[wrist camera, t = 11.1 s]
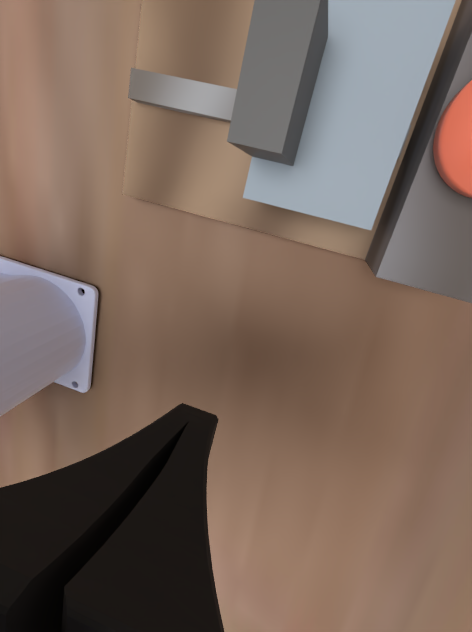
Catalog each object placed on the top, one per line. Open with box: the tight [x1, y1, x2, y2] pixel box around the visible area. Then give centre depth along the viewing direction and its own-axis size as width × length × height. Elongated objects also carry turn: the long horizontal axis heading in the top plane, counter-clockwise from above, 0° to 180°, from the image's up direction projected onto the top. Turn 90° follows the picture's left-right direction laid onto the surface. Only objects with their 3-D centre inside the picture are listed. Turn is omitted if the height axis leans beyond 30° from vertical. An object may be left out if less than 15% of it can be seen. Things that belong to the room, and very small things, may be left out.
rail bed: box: [122, 0, 472, 303], centre depth 14 cm, size 17×10×5 cm, turn 77°
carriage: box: [227, 0, 456, 230], centre depth 11 cm, size 5×7×6 cm
